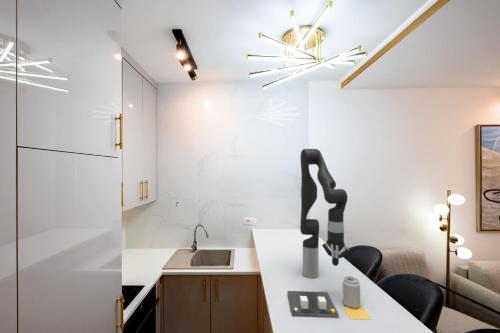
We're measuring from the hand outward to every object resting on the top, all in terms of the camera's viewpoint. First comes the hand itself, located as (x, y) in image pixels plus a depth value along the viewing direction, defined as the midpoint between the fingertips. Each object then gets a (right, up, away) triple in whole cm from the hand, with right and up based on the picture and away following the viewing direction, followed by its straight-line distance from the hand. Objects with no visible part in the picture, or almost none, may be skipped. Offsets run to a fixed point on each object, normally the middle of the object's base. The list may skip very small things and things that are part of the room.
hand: (335, 265), depth 116 cm
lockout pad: (+6, -17, -11) cm, 21 cm away
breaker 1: (-17, -15, -9) cm, 25 cm away
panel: (-13, -17, -5) cm, 22 cm away
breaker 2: (-9, -15, -9) cm, 20 cm away
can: (+6, -17, -5) cm, 18 cm away
